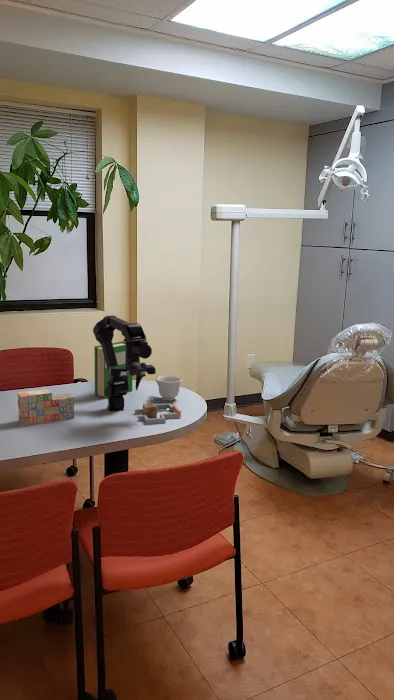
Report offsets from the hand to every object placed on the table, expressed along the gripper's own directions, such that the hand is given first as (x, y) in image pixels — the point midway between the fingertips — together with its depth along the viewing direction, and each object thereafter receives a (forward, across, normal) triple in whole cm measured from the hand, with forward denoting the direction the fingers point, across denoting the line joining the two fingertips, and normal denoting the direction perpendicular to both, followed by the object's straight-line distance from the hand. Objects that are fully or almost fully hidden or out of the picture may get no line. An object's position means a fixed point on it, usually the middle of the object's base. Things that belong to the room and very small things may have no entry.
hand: (132, 390), depth 228 cm
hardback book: (+12, -2, +36) cm, 38 cm away
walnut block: (+12, +8, 0) cm, 14 cm away
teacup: (+12, +21, +23) cm, 34 cm away
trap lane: (+12, +11, 0) cm, 16 cm away
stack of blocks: (+12, -34, +5) cm, 37 cm away
